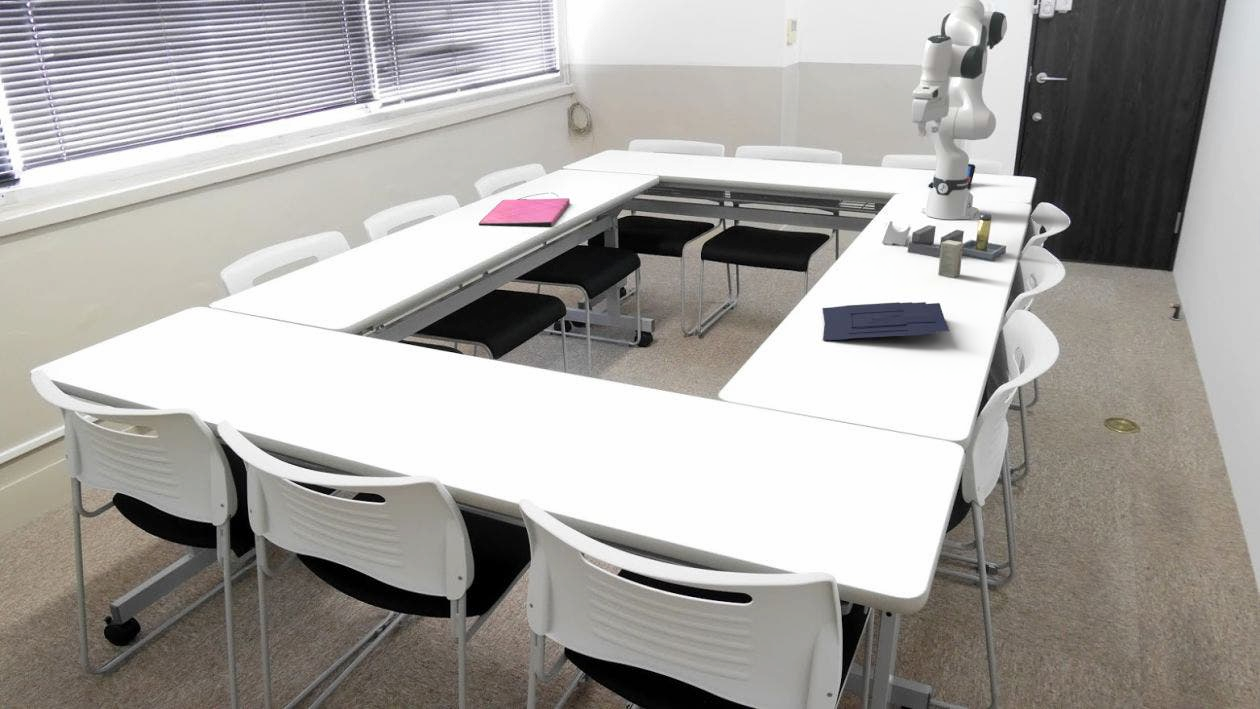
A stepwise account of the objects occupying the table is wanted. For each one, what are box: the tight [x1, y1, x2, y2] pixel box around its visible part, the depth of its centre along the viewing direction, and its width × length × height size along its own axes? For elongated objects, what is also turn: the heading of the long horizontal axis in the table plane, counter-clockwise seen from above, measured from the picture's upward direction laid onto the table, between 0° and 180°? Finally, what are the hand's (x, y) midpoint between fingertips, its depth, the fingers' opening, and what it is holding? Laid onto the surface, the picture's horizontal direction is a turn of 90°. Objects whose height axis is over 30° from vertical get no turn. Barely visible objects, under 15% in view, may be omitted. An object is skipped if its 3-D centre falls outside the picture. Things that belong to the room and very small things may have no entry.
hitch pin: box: [975, 212, 993, 252], centre depth 291 cm, size 4×4×12 cm
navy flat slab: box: [822, 301, 950, 341], centre depth 234 cm, size 24×30×4 cm
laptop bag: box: [478, 192, 571, 228], centre depth 349 cm, size 40×4×27 cm
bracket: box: [880, 219, 912, 247], centre depth 308 cm, size 13×7×8 cm, turn 167°
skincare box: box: [937, 240, 964, 278], centre depth 272 cm, size 5×4×10 cm
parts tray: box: [962, 239, 1007, 262], centre depth 293 cm, size 12×12×2 cm
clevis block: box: [907, 224, 965, 259], centre depth 296 cm, size 14×12×6 cm
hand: (928, 134), depth 296 cm, fingers open, 8 cm apart
